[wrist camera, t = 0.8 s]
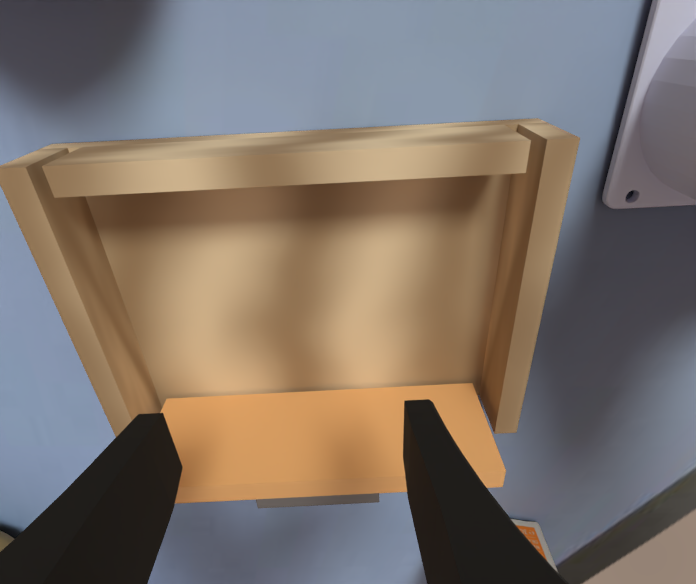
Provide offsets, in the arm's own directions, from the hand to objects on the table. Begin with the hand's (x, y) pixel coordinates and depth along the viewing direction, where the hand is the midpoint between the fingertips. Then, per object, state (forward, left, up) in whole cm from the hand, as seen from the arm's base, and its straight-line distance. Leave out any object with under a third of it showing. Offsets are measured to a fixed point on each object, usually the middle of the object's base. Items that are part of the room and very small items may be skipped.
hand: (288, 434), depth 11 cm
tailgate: (0, +7, -8) cm, 11 cm away
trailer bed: (0, +1, -9) cm, 9 cm away
